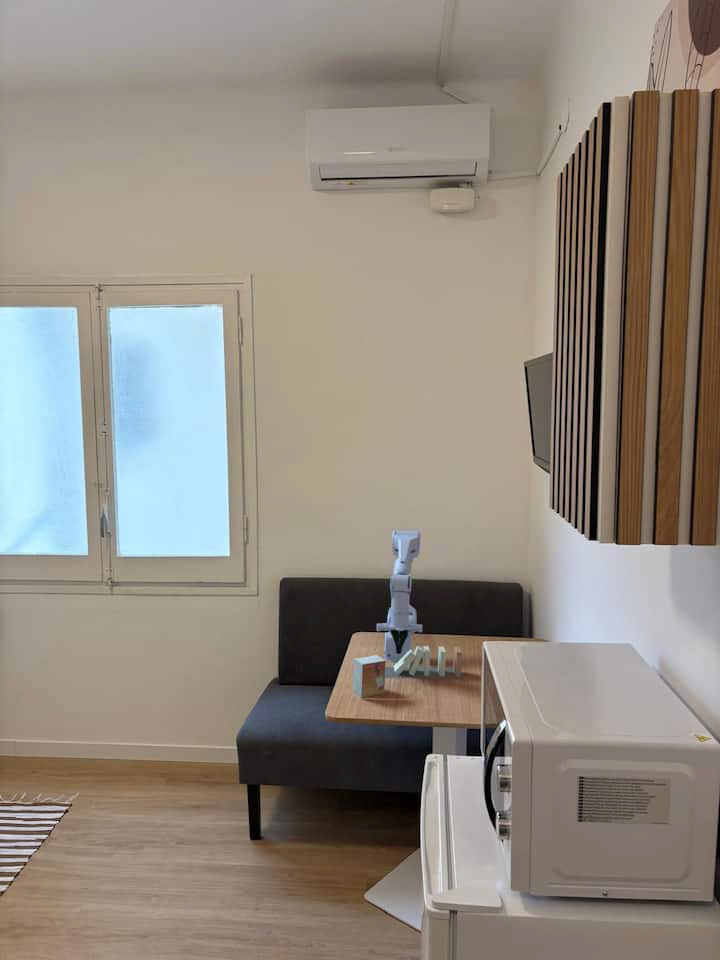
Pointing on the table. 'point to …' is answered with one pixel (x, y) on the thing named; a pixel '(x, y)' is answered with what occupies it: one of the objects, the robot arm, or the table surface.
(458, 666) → the terracotta domino
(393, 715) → the table surface
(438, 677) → the mat
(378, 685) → the small box
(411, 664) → the domino
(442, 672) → the domino
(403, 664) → the domino
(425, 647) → the domino
